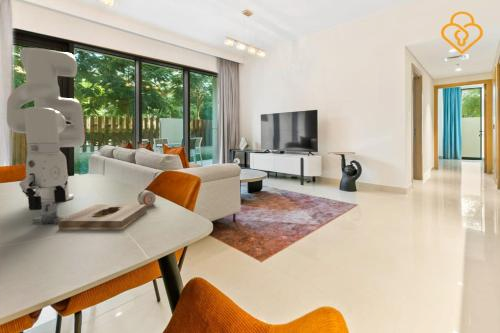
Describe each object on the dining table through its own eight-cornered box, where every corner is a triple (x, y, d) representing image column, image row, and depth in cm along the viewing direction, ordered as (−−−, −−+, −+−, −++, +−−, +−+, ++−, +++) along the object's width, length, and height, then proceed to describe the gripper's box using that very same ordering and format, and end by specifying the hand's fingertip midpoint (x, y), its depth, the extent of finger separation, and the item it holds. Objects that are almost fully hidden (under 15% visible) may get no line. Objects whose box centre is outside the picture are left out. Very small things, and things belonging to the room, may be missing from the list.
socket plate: (58, 229, 73) (58, 220, 73) (96, 211, 91) (95, 204, 91) (122, 229, 73) (121, 220, 73) (146, 211, 91) (146, 204, 91)
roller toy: (136, 206, 99) (135, 191, 98) (152, 203, 103) (151, 188, 102) (141, 208, 96) (140, 193, 95) (157, 205, 100) (156, 190, 99)
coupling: (30, 224, 77) (28, 205, 76) (41, 220, 81) (39, 202, 80) (60, 224, 77) (58, 205, 76) (69, 220, 81) (68, 202, 80)
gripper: (32, 150, 68) (37, 213, 69) (76, 148, 85) (79, 199, 87) (3, 150, 68) (10, 213, 69) (53, 149, 85) (57, 199, 86)
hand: (48, 205), depth 78 cm, fingers open, 9 cm apart
